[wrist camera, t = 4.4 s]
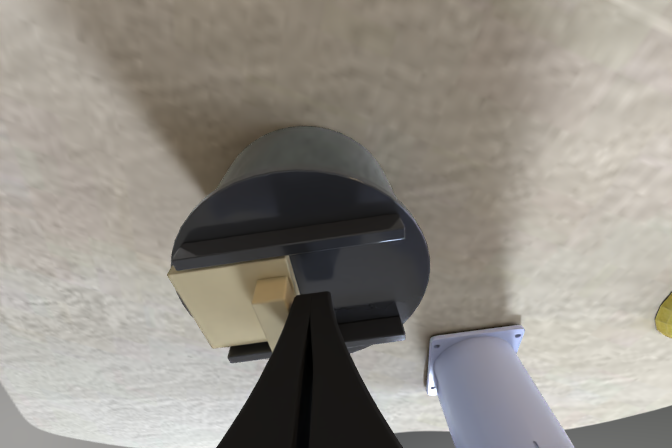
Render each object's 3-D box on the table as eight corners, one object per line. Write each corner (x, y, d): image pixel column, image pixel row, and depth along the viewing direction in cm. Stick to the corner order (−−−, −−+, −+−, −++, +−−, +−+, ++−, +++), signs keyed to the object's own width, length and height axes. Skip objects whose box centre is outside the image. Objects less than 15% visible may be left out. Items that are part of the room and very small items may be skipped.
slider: (286, 247, 11) (282, 281, 9) (309, 325, 13) (308, 361, 12) (172, 263, 11) (149, 300, 10) (216, 337, 14) (203, 375, 12)
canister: (393, 104, 15) (450, 158, 8) (396, 263, 20) (432, 364, 14) (187, 136, 15) (93, 211, 9) (248, 283, 21) (219, 392, 14)
